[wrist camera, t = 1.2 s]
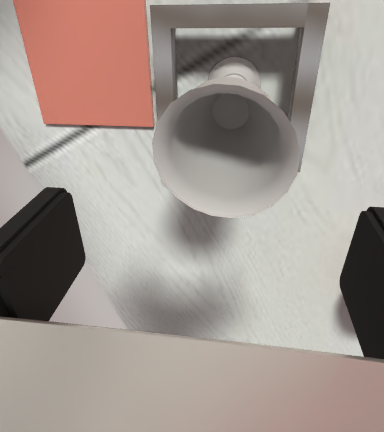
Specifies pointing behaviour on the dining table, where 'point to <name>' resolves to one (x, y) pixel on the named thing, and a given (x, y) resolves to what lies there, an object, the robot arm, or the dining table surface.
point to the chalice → (226, 144)
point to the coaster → (89, 60)
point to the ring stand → (244, 18)
